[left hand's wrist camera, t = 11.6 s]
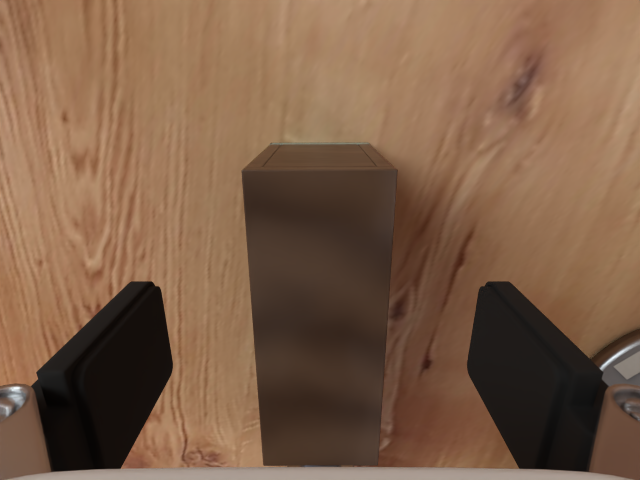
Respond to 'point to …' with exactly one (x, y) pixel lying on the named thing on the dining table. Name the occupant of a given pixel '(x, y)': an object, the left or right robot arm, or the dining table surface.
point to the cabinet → (319, 298)
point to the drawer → (326, 466)
